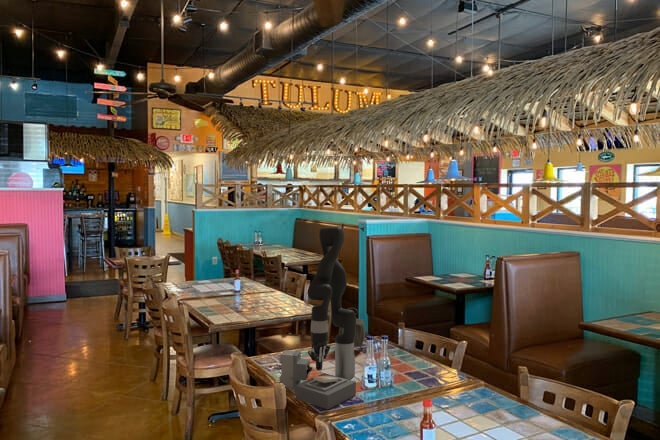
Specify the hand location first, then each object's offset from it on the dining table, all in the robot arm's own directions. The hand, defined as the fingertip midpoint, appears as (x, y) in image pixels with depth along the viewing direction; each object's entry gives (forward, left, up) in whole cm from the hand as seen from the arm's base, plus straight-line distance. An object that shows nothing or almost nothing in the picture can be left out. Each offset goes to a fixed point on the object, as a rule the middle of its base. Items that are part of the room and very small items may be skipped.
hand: (319, 369), depth 218 cm
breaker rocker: (-5, 0, -5) cm, 7 cm away
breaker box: (-5, 0, -13) cm, 14 cm away
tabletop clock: (-68, -31, -14) cm, 76 cm away
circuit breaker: (-8, -20, -14) cm, 25 cm away
